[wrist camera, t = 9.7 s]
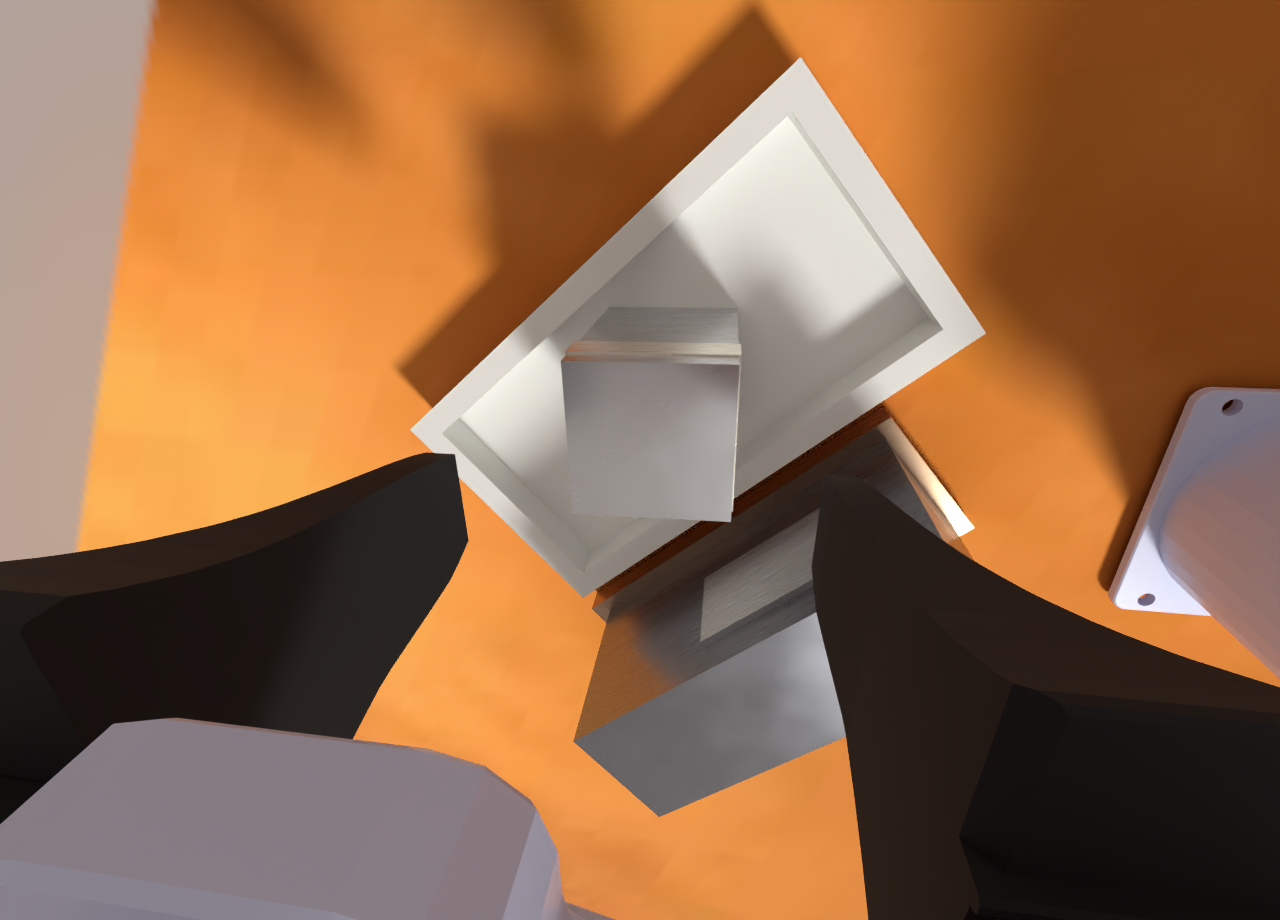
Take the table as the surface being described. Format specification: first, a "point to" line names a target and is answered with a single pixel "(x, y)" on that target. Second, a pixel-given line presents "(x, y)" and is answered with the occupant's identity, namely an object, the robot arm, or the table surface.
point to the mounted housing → (738, 630)
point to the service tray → (720, 278)
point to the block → (654, 413)
